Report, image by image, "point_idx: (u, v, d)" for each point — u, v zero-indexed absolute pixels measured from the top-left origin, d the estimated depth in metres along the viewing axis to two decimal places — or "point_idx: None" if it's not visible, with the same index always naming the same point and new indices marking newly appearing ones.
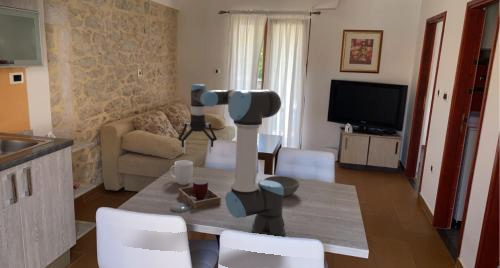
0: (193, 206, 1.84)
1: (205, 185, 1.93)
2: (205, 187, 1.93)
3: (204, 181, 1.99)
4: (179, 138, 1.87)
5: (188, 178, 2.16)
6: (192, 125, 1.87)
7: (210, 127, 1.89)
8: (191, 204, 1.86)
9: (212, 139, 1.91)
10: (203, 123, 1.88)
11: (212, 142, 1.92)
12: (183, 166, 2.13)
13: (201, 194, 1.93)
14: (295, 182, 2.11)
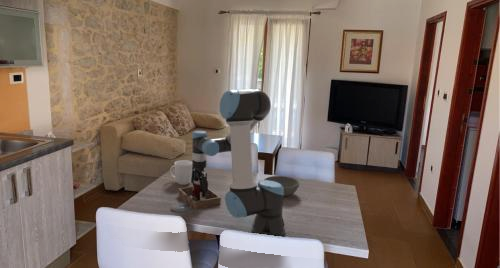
0: (193, 206, 1.84)
1: None
2: None
3: None
4: (191, 181, 2.00)
5: (188, 178, 2.16)
6: (195, 169, 1.94)
7: (202, 177, 1.87)
8: (191, 204, 1.86)
9: (201, 190, 1.89)
10: (200, 170, 1.89)
11: (202, 193, 1.90)
12: (183, 166, 2.13)
13: None
14: (295, 182, 2.11)
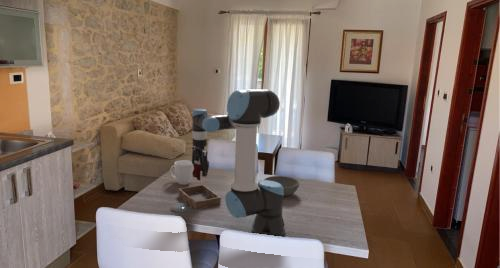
0: (193, 206, 1.84)
1: None
2: None
3: None
4: (192, 161, 1.97)
5: (188, 178, 2.16)
6: (195, 148, 1.92)
7: (202, 156, 1.85)
8: (191, 204, 1.86)
9: (201, 169, 1.87)
10: (200, 148, 1.87)
11: (202, 172, 1.88)
12: (183, 166, 2.13)
13: None
14: (295, 182, 2.11)
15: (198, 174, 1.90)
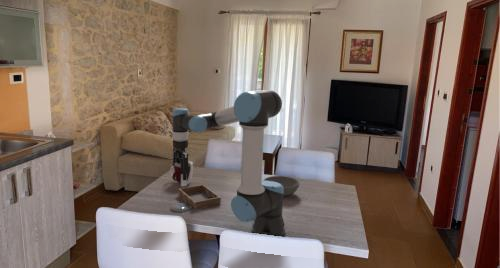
0: (193, 206, 1.84)
1: None
2: None
3: None
4: (173, 164, 1.85)
5: (188, 178, 2.16)
6: (176, 149, 1.80)
7: (182, 158, 1.73)
8: (191, 204, 1.86)
9: (182, 172, 1.75)
10: (180, 150, 1.75)
11: (183, 175, 1.76)
12: None
13: None
14: (295, 182, 2.11)
15: (179, 177, 1.79)
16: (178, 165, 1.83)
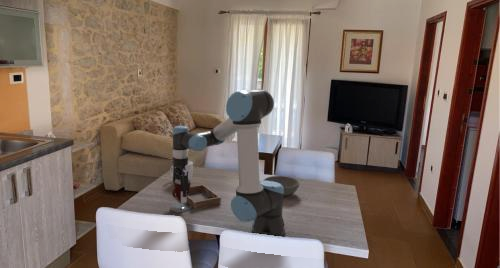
0: (193, 206, 1.84)
1: None
2: None
3: None
4: (173, 180, 1.87)
5: (188, 178, 2.16)
6: (176, 166, 1.82)
7: (182, 176, 1.75)
8: (191, 204, 1.86)
9: (182, 189, 1.77)
10: (180, 168, 1.77)
11: (183, 192, 1.78)
12: None
13: None
14: (295, 182, 2.11)
15: (179, 194, 1.81)
16: (178, 181, 1.85)
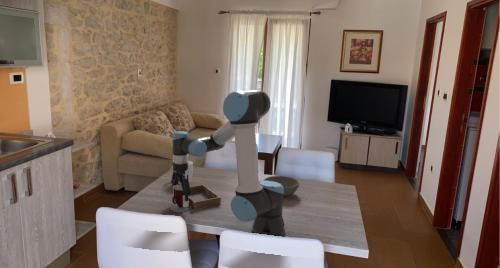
0: (193, 206, 1.84)
1: None
2: None
3: None
4: (171, 181, 1.89)
5: (188, 178, 2.16)
6: (176, 172, 1.83)
7: (183, 179, 1.75)
8: (191, 204, 1.86)
9: (184, 193, 1.75)
10: (180, 173, 1.78)
11: (185, 196, 1.76)
12: None
13: (182, 201, 1.82)
14: (295, 182, 2.11)
15: (178, 200, 1.82)
16: (177, 188, 1.87)
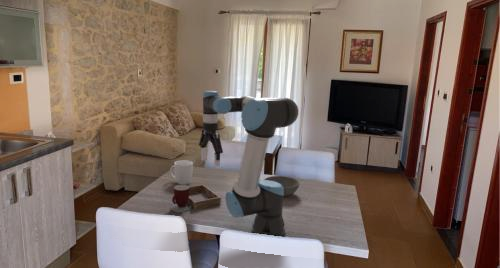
0: (193, 206, 1.84)
1: (186, 191, 1.82)
2: (186, 193, 1.82)
3: (186, 187, 1.88)
4: (199, 143, 1.88)
5: (188, 178, 2.16)
6: (205, 133, 1.82)
7: (214, 138, 1.74)
8: (191, 204, 1.86)
9: (216, 151, 1.75)
10: (211, 132, 1.77)
11: (217, 155, 1.75)
12: (183, 166, 2.13)
13: (182, 201, 1.83)
14: (295, 182, 2.11)
15: (178, 200, 1.82)
16: (177, 188, 1.87)
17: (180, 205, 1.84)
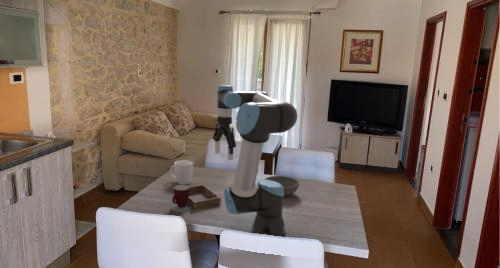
0: (193, 206, 1.84)
1: (186, 191, 1.82)
2: (186, 193, 1.82)
3: (186, 187, 1.88)
4: (213, 137, 1.90)
5: (188, 178, 2.16)
6: (219, 126, 1.83)
7: (228, 132, 1.76)
8: (191, 204, 1.86)
9: (229, 145, 1.76)
10: (225, 126, 1.79)
11: (230, 149, 1.77)
12: (183, 166, 2.13)
13: (182, 201, 1.83)
14: (295, 182, 2.11)
15: (178, 200, 1.82)
16: (177, 188, 1.87)
17: (180, 205, 1.84)
